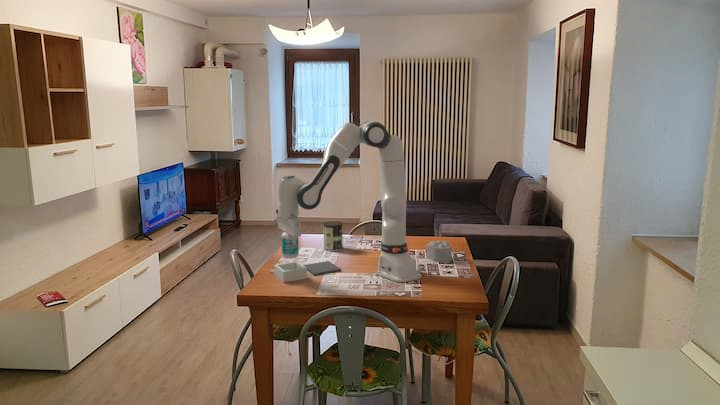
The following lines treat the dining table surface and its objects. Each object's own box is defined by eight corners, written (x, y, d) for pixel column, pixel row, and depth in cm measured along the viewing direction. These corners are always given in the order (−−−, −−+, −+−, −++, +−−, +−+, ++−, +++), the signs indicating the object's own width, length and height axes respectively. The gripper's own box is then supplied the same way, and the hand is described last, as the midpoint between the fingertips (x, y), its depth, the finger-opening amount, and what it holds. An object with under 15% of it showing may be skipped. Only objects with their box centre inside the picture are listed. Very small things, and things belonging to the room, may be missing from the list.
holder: (307, 278, 253) (306, 267, 252) (283, 282, 248) (283, 271, 247) (297, 271, 263) (297, 261, 262) (274, 275, 257) (274, 264, 256)
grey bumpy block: (440, 254, 289) (440, 237, 287) (456, 260, 278) (457, 243, 276) (424, 257, 284) (424, 240, 282) (440, 263, 273) (440, 246, 271)
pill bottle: (285, 259, 248) (284, 230, 246) (280, 255, 255) (278, 227, 252) (301, 257, 252) (300, 228, 249) (295, 253, 258) (294, 225, 255)
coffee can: (343, 246, 304) (342, 221, 301) (342, 251, 294) (342, 225, 291) (324, 246, 304) (323, 221, 302) (322, 251, 294) (322, 225, 291)
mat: (341, 270, 263) (341, 268, 263) (314, 275, 257) (314, 273, 256) (328, 262, 275) (328, 260, 275) (302, 267, 269) (302, 265, 268)
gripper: (304, 215, 242) (305, 246, 244) (286, 207, 259) (288, 236, 262) (290, 217, 239) (292, 248, 241) (274, 209, 256) (275, 238, 259)
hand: (290, 241), depth 252 cm, fingers closed on pill bottle, 7 cm apart
